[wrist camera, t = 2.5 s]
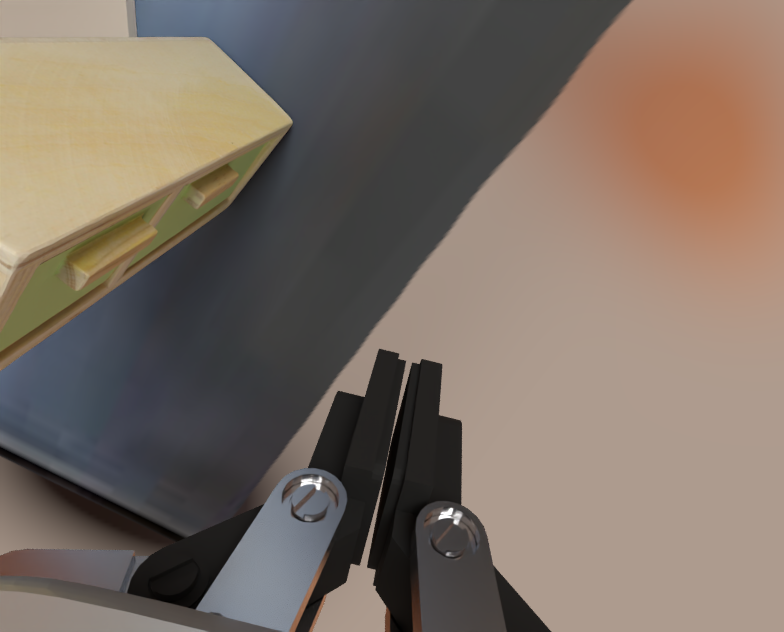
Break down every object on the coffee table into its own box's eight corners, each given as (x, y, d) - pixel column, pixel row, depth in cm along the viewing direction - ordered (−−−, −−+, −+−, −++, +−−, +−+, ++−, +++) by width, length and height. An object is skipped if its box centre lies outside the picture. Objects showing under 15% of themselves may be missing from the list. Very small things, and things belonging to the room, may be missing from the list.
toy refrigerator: (236, 218, 33) (-47, 434, 14) (145, 138, 31) (-312, 273, 13) (306, 131, 29) (49, 273, 11) (209, 35, 27) (-297, 16, 9)
